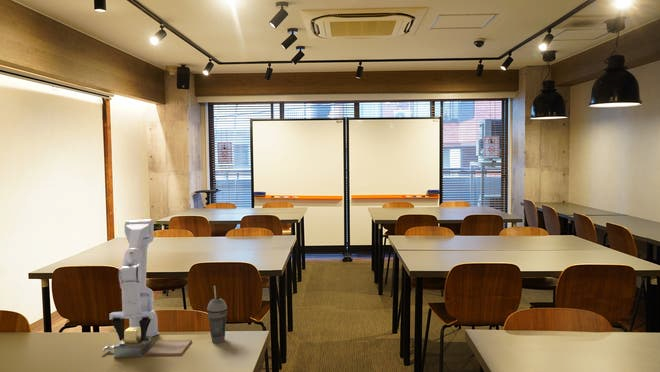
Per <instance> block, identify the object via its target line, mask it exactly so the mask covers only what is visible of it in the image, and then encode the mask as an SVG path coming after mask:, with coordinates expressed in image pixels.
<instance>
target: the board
mask: <svg viewBox="0 0 660 372" xmlns="http://www.w3.org/2000/svg"><path fill="white" fill-rule="evenodd" d="M192 341H193V339H160V340H159V339H158V340H157V341H156V342H155V343H153V345H151V347H150V348H149V349H148V350H147V351H146V352H145V353H144V354H145V356H146V357H162V356H163V357H165V356H166V357H167V356H168V357H169V356H170V357H172V356H174V357H175V356H182V355H183V354H184V352H185V351H186V350H187V349H188V348H189V346H190V345H191V343H192Z"/></svg>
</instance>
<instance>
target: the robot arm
mask: <svg viewBox="0 0 660 372" xmlns="http://www.w3.org/2000/svg"><path fill="white" fill-rule="evenodd" d="M154 227H155V225H154V220H153V219H152V218H149V219H130V220H129V219H127V220H125V223H124V234H125V238H126V240H127V243H128V249H126V251H125V252H124V257H123V262H122V266H121V267H120V268H119V270H118V281H119V287H120V289H121V305H122V306H121V307H122V308H121V309H122V311H113V312H111V313H109V314H108V315H109V316H108V317H109V320H111V325H112V326H113V327H114V330H115V331H116V334H117V336H118V339H119V341H123V339H124V331H125V320H129V322H128V323H129V327H140V328H141V340H144V339H145V338H146V336H151V338H152V337H155V336H158V335H160V332H159V323H158V322H159V321H158V315H157V312H156V310H154V308H155V307H154V306H155V298H154V291H153V290H152V289H151V288H149V287H148V286H147V267H148V266H147V261H148V259H147V258H148V248H149V244H150V243H152V242H153V240H154V235H155V234H154V233H155V232H154V229H155V228H154Z"/></svg>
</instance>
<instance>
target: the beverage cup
mask: <svg viewBox="0 0 660 372" xmlns="http://www.w3.org/2000/svg"><path fill="white" fill-rule="evenodd" d="M216 291H217V289H216V285H213V292H214V298H213V299H211V300H210V301H209V303H207V304H208V305H207V307H206V312H207V317H208V322H209V331H210V338H211V343H215V344H220V343H223V342H225V338H226V326H227V325H226V324H227V314H228V313H227V312H228V307H227V303H226V300H224V299H223V298H220V297H217V292H216Z"/></svg>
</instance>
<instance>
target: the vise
mask: <svg viewBox="0 0 660 372" xmlns="http://www.w3.org/2000/svg"><path fill="white" fill-rule="evenodd" d="M151 347H152V337H151V336H146V338H145V339H144V340H141V343H140V344H125V343H124V339H123V340H121V342H120V343H115V345H111V344H107V345H105V347H103V348H102V349H101V352H102V353H104V352H106V351H109V350H111V351H113V357H114V358H142V357H143V356H144V354H146V353H147V352H148V351H149V350H150V348H151Z"/></svg>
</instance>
